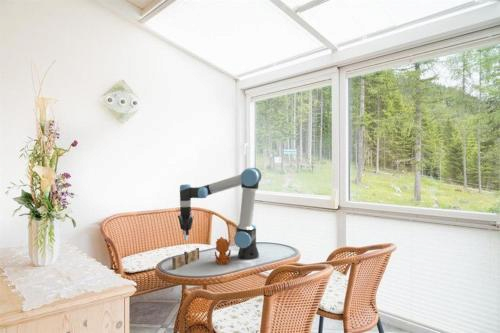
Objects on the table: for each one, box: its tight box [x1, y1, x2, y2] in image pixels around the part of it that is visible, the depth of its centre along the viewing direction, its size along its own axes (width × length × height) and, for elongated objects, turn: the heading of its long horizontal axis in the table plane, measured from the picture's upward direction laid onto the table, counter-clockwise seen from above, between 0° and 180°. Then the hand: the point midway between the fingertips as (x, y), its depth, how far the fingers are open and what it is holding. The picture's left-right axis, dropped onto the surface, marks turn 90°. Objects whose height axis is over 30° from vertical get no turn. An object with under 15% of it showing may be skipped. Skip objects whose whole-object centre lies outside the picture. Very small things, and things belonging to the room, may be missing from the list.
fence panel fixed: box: [171, 251, 188, 270], centre depth 227 cm, size 13×2×8 cm, turn 151°
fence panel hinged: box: [187, 247, 200, 264], centre depth 238 cm, size 12×2×8 cm, turn 151°
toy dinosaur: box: [214, 236, 232, 266], centre depth 233 cm, size 11×11×18 cm
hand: (186, 239), depth 243 cm, fingers closed
